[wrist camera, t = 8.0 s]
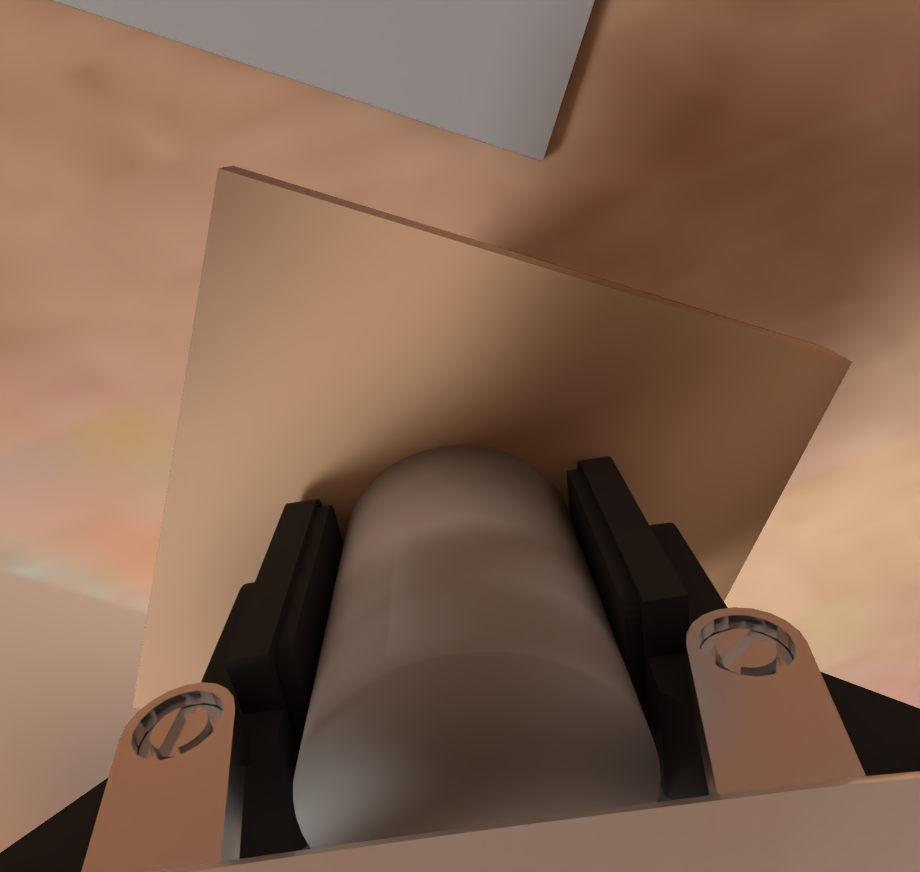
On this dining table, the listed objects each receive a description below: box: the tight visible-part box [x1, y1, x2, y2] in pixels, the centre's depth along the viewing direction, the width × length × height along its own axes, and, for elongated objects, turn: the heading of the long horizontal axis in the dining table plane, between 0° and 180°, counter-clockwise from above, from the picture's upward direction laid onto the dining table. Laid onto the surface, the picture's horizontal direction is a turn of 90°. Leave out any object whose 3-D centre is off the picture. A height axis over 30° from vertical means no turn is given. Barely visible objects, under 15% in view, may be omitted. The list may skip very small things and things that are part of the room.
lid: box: [133, 166, 852, 849], centre depth 10 cm, size 10×10×6 cm
